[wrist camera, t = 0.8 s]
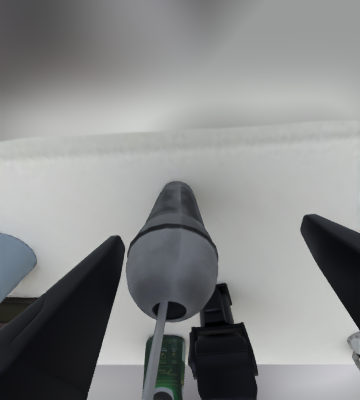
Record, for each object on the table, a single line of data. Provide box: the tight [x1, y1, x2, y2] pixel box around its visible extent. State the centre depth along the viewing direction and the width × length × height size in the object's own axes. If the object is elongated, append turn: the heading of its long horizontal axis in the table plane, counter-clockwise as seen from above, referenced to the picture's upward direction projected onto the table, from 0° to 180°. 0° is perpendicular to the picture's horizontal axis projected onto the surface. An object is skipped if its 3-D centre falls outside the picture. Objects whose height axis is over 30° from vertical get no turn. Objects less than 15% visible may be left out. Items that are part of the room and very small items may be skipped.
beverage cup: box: [126, 182, 218, 400], centre depth 15 cm, size 7×7×20 cm
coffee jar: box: [142, 336, 185, 400], centre depth 35 cm, size 10×8×19 cm
